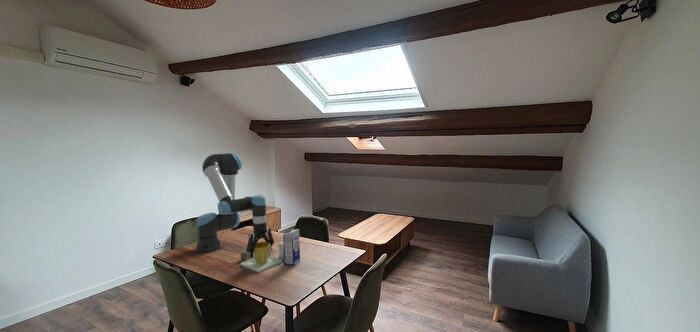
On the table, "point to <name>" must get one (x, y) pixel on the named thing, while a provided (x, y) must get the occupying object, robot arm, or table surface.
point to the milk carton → (291, 247)
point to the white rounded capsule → (281, 251)
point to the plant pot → (261, 252)
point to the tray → (261, 264)
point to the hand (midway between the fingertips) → (261, 259)
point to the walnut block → (245, 256)
